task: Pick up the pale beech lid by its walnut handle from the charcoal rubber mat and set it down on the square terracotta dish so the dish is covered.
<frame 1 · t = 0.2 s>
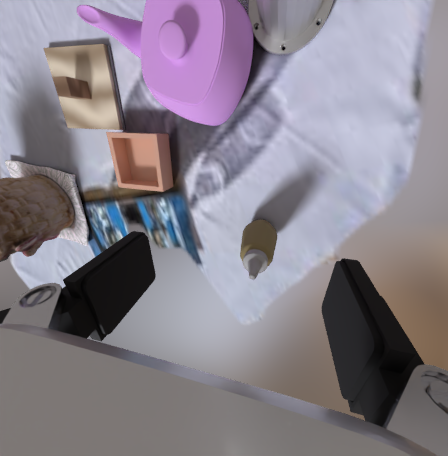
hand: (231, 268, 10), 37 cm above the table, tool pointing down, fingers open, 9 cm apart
cookie jar: (55, 203, 63), on the table
lid: (86, 91, 44), resting on mat
squeeze bottle: (260, 229, 49), on the table
dish: (148, 159, 48), on the table
teapot: (205, 71, 37), on the table
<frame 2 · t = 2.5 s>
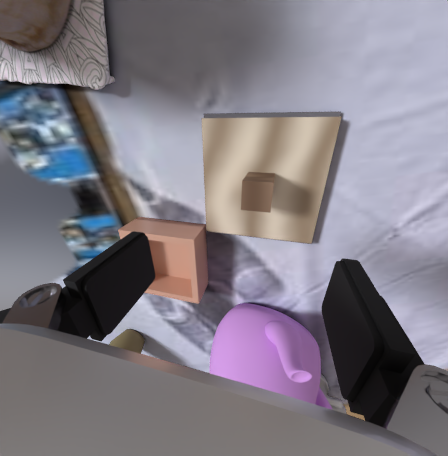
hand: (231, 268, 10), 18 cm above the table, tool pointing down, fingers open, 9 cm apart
mat: (261, 183, 26), on the table
lid: (260, 183, 25), resting on mat
squeeze bottle: (135, 335, 51), on the table
dish: (175, 251, 35), on the table
teapot: (264, 326, 38), on the table
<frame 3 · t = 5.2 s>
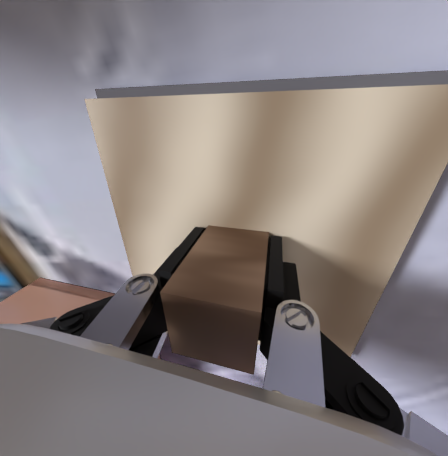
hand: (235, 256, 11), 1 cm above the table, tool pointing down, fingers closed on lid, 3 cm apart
mat: (240, 243, 12), on the table
lid: (239, 246, 12), resting on mat, touching gripper
dish: (106, 330, 21), on the table
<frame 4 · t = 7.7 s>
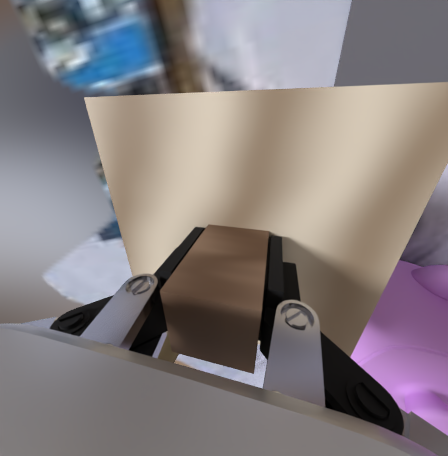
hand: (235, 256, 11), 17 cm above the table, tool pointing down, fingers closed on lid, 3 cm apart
mat: (439, 40, 17), on the table
lid: (239, 245, 12), point 16 cm above the table, touching gripper
teapot: (367, 290, 29), on the table
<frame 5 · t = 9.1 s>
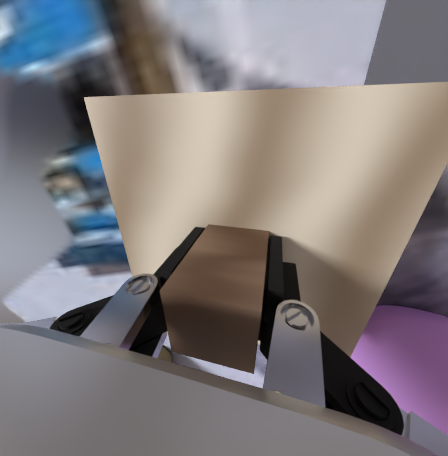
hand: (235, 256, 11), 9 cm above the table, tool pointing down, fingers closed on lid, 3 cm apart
lid: (239, 245, 12), point 8 cm above the table, touching gripper
teapot: (399, 346, 21), on the table
when the fingers open (7 cm above the table, at t = 10.1 s): lid drops 1 cm, resting on dish.
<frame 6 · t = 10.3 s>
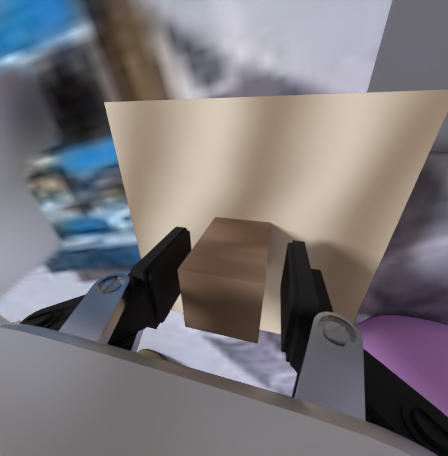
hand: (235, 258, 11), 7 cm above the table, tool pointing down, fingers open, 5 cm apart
lid: (242, 237, 13), point 5 cm above the table, touching dish
teapot: (405, 356, 20), on the table
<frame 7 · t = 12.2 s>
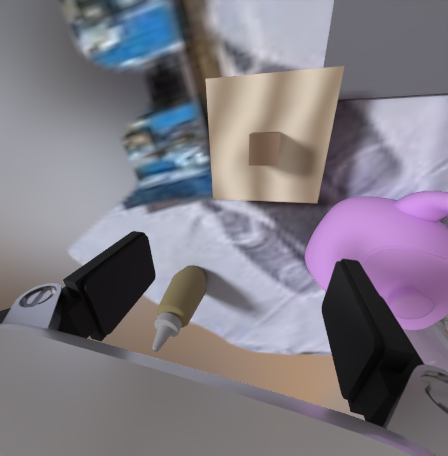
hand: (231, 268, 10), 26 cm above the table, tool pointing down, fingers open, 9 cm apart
mat: (406, 9, 21), on the table
lid: (265, 145, 26), point 5 cm above the table, touching dish
squeeze bottle: (195, 274, 47), on the table
teapot: (361, 234, 34), on the table
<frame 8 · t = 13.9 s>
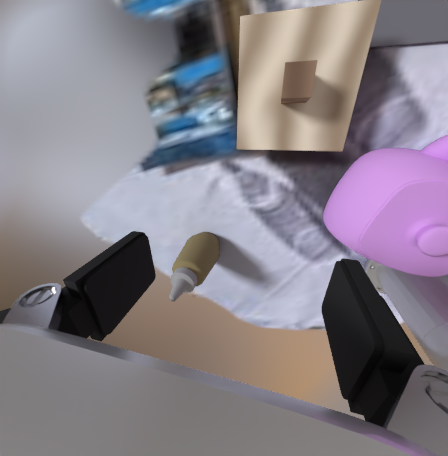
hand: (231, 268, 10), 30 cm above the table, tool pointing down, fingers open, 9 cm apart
lid: (294, 89, 26), point 5 cm above the table, touching dish
squeeze bottle: (207, 241, 47), on the table
teapot: (380, 195, 34), on the table
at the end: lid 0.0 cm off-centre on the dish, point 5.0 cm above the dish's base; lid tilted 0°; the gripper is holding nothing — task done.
